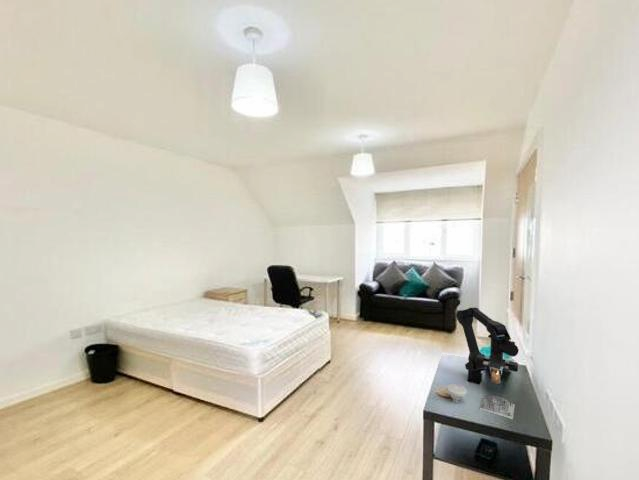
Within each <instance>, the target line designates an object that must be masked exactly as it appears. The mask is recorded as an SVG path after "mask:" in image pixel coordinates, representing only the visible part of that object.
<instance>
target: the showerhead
mask: <svg viewBox="0 0 639 480" xmlns="http://www.w3.org/2000/svg"><path fill="white" fill-rule="evenodd" d="M445 391H446V392H447V393H448V394H450V397H451V399H452V400H453V402H454V403H459V401H460V400H461V399H462V397H465V396H467V393H468V391H467V388H465V387H464V386H463V385H460V384H455V383H449V384H446V385H445Z"/></svg>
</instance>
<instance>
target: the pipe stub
mask: <svg viewBox="0 0 639 480" xmlns="http://www.w3.org/2000/svg"><path fill="white" fill-rule="evenodd" d="M501 374H502V369H501V368H500V369H497V368H491V378H490V381H491V382H492V383H493V384H498V385H499V384H501V383H502V381H501Z"/></svg>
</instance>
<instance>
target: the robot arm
mask: <svg viewBox="0 0 639 480" xmlns="http://www.w3.org/2000/svg"><path fill="white" fill-rule="evenodd" d="M455 316H456V319H457V322H458V323H459V325H461V326H462V329H463V331H464V335H465V340H466V343H467V347H468V351H469V354H468V358H467V359H468V362H466V363H465V364H464V367H465V370H467V380H466V381H467V382H470V383H473V384H477V385H481V383H482V382H483V373H482V372H484V371H485V370H486V371H487V374H488V377H489V379H491V368H497V369H500V370H501V382H502V381H503V378H504V377H505V374H506V373H507V372H510V371H511V372H516V373H517V372H518V371H519V363H518V362H516V361H512V360H509V361H508V362H506V359H504V354H506V355H507V356H510V357H516V356H517V355H518V354H519V348H518V346H517V344H516V342H515V341H511V340H512V338H511V335H510V334H509V332H508V330H507V327H506V325H505V324H503V323H501V322H499V321H497V320H496V321H495V320H494V319H492V318H491V317H489V316H488V315H487V314H485V313H484V312H483V311H481V310H480V309H479V308H478V307H468V308H466V309H461V310H457V312H456V314H455ZM474 319H475V320H477V321H478V322H479V323H480V324H482V325H483V326H484V327H485V328H486V331H487V332H488V333H489V335H487V337H488V338H489V339H490V350H489V351H490V352H489V353H490V355H489V357H488V358H487V357H486V355H485V354H484V353H482V352H481V351H480V349H479V346H478V342H477V339H476V335H475V331H474V328H473V322H474ZM501 368H502V369H501Z"/></svg>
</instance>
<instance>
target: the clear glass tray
mask: <svg viewBox="0 0 639 480" xmlns="http://www.w3.org/2000/svg"><path fill="white" fill-rule="evenodd" d="M515 406H516V405H515V404H514V403H512V402H510V401H508V400H507V399H505V398H504V397H500V396H497V395H484V396H483V398H482V401H481V404H480V408H479V410H481V411H485V412H487V413H488V412H489V413H492V414H495V415H498V416H501V417H505V418H508V419H511V420H513V419H514V413H515Z"/></svg>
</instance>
